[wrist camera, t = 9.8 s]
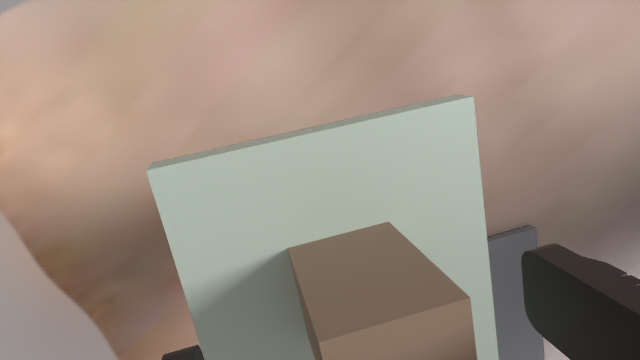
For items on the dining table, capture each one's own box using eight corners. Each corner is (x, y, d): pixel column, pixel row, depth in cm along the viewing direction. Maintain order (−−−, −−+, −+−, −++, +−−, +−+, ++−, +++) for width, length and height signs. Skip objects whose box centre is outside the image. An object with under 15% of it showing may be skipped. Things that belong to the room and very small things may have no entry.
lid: (455, 94, 13) (605, 108, 8) (482, 346, 16) (610, 484, 10) (152, 163, 12) (91, 233, 7) (233, 425, 14) (234, 627, 9)
